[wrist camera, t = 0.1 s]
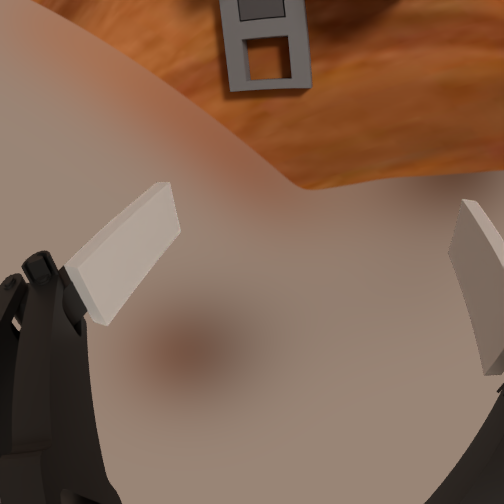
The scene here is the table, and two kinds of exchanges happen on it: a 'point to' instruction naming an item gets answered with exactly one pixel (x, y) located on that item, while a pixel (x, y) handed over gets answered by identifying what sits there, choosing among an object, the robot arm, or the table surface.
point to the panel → (265, 26)
